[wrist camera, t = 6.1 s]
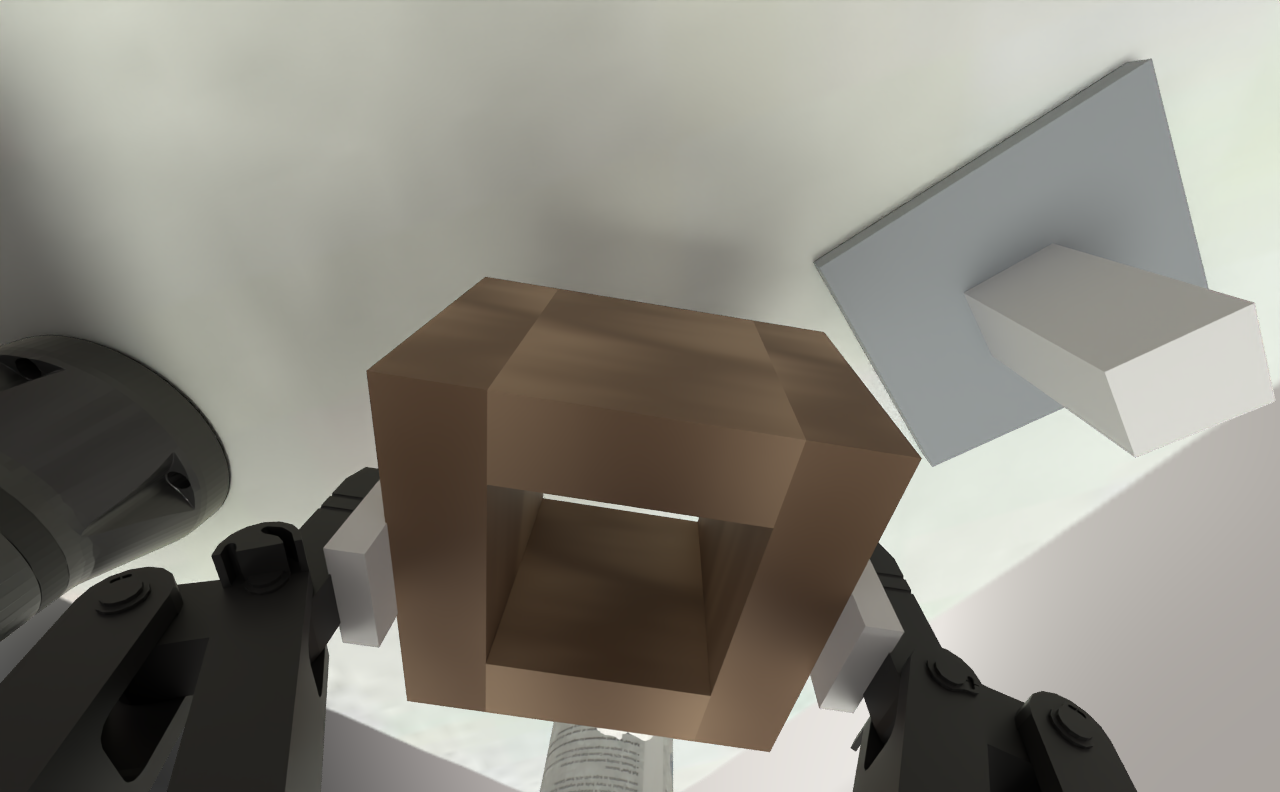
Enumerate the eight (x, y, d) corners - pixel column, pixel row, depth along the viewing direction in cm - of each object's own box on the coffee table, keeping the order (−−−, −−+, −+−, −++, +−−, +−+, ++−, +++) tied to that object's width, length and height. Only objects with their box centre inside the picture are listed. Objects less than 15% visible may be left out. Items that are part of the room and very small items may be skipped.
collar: (484, 532, 18) (407, 700, 13) (485, 276, 13) (366, 371, 8) (740, 571, 18) (769, 752, 13) (824, 332, 14) (921, 458, 8)
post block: (813, 262, 25) (889, 335, 16) (1127, 62, 20) (1483, 6, 11) (923, 454, 30) (1029, 595, 21) (1197, 328, 25) (1487, 437, 16)
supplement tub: (541, 685, 43) (482, 922, 30) (607, 634, 39) (572, 880, 26) (628, 731, 46) (608, 969, 33) (698, 687, 42) (706, 936, 29)
